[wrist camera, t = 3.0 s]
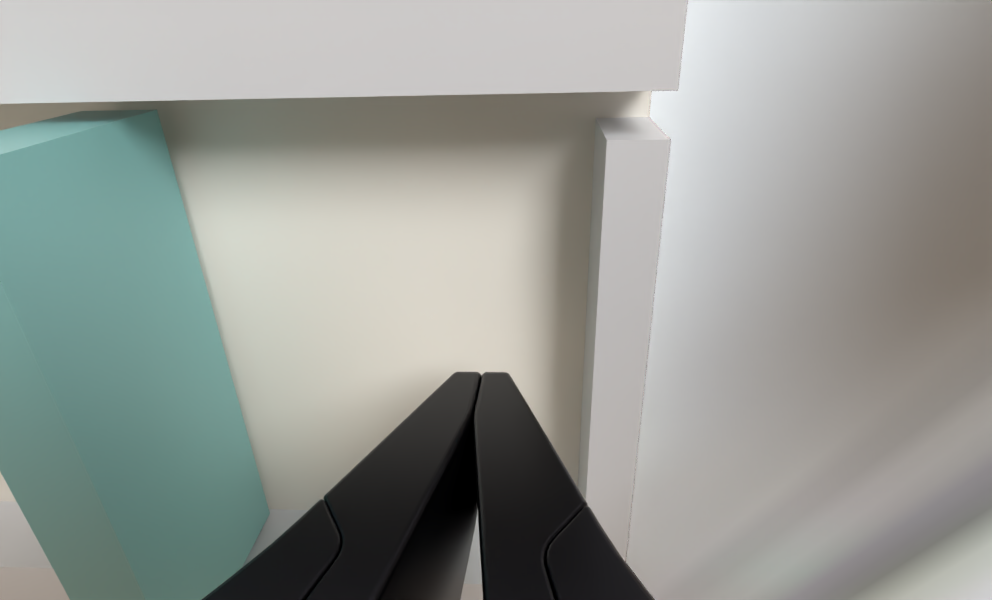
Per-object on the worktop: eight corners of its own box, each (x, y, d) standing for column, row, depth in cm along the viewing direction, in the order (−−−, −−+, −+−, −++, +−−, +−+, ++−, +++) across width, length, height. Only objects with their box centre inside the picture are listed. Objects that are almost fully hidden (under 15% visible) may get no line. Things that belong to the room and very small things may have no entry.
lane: (653, -41, 9) (694, -56, 6) (605, 537, 14) (618, 639, 12) (-388, -5, 10) (-662, -7, 7) (-57, 517, 15) (-160, 605, 13)
